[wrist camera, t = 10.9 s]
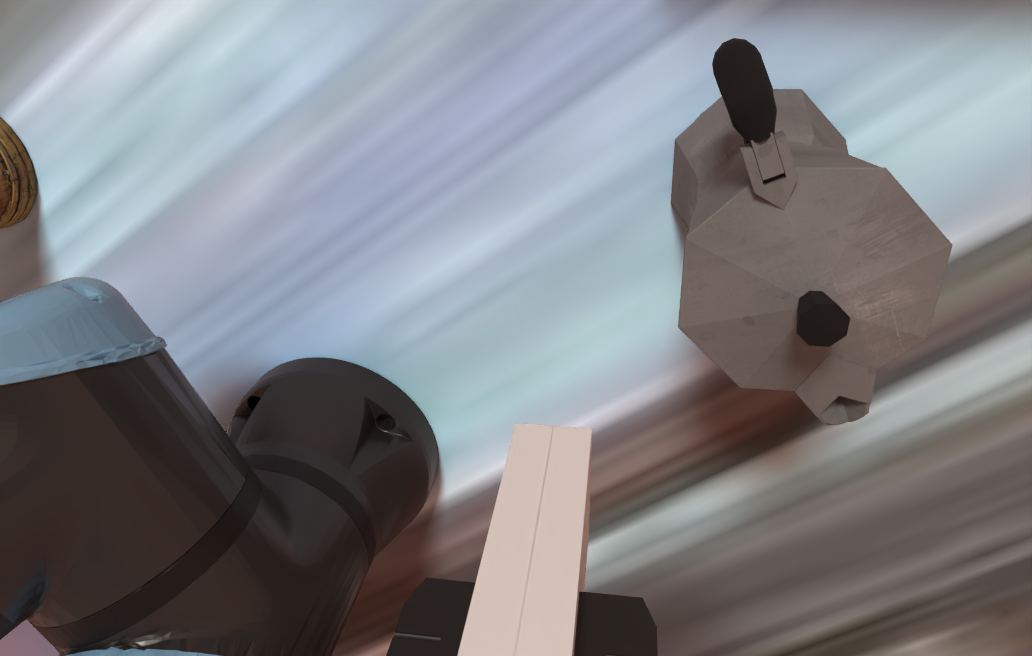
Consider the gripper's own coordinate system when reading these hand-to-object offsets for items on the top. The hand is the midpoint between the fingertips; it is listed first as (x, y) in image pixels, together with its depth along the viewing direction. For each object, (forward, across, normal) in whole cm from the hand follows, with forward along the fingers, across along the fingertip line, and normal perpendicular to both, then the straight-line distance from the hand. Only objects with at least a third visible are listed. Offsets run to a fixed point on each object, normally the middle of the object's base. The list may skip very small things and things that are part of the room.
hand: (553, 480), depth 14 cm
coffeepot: (+28, +8, 0) cm, 29 cm away
